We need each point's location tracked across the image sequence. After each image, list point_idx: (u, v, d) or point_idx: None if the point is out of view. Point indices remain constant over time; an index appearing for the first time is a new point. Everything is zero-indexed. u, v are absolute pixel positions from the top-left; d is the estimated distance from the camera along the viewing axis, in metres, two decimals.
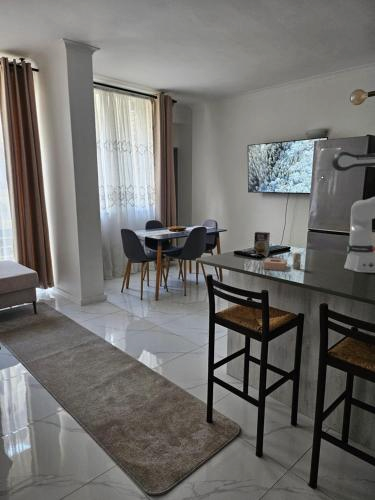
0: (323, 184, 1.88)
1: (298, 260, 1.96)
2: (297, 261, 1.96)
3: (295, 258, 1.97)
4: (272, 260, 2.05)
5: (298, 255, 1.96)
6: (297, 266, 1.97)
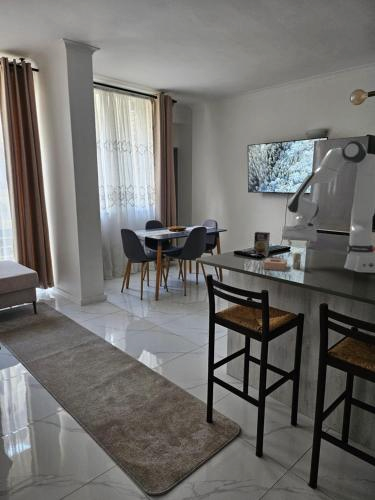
0: (283, 231, 2.12)
1: (298, 260, 1.96)
2: (297, 261, 1.96)
3: (295, 258, 1.97)
4: (272, 260, 2.05)
5: (298, 255, 1.96)
6: (297, 266, 1.97)
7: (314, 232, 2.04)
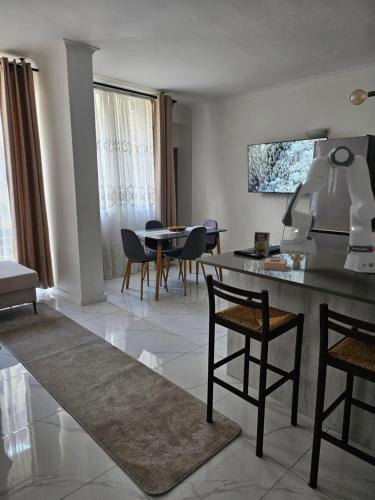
0: (281, 244, 2.05)
1: (298, 260, 1.96)
2: (297, 261, 1.96)
3: (295, 258, 1.97)
4: (272, 260, 2.05)
5: (298, 255, 1.96)
6: (297, 266, 1.97)
7: (313, 246, 1.97)
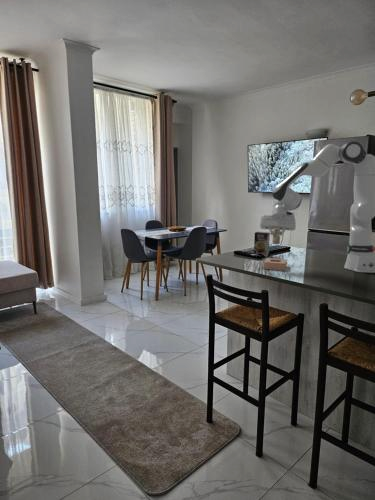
0: None
1: (277, 235, 1.97)
2: (277, 235, 1.97)
3: (274, 233, 1.97)
4: (272, 260, 2.05)
5: (277, 229, 1.96)
6: (276, 241, 1.98)
7: (293, 221, 1.98)
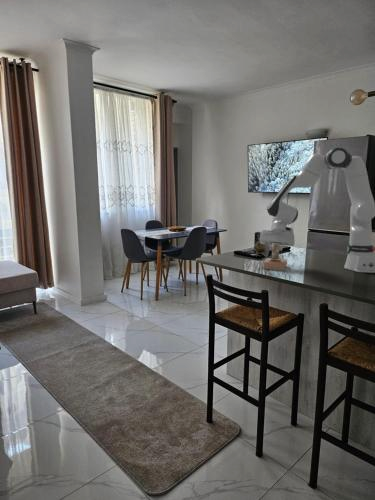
0: None
1: (276, 250, 1.99)
2: (276, 251, 1.99)
3: (273, 248, 1.99)
4: (272, 260, 2.05)
5: (276, 245, 1.98)
6: (275, 256, 1.99)
7: (292, 236, 2.00)
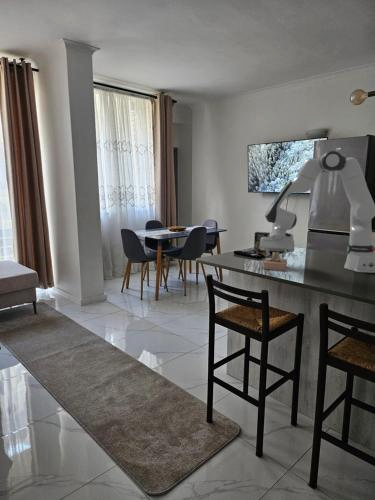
0: None
1: (277, 259, 2.00)
2: (276, 260, 2.00)
3: (274, 257, 2.00)
4: None
5: (276, 254, 1.99)
6: None
7: (291, 243, 2.00)
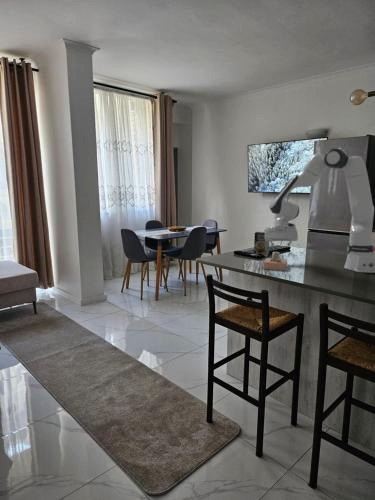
0: (265, 232, 2.18)
1: (277, 259, 2.00)
2: (276, 259, 2.00)
3: (274, 257, 2.00)
4: None
5: (276, 254, 1.99)
6: None
7: (295, 232, 2.11)
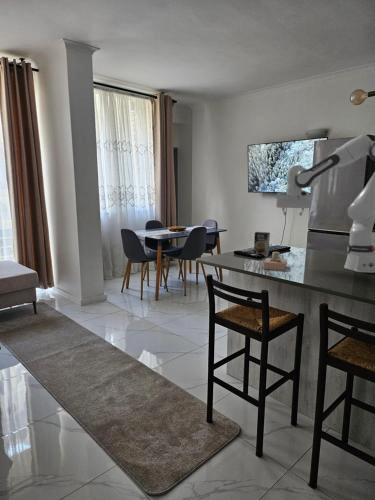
0: (277, 200, 2.15)
1: (277, 259, 2.00)
2: (276, 259, 2.00)
3: (274, 257, 2.00)
4: None
5: (276, 254, 1.99)
6: None
7: (307, 201, 2.07)
